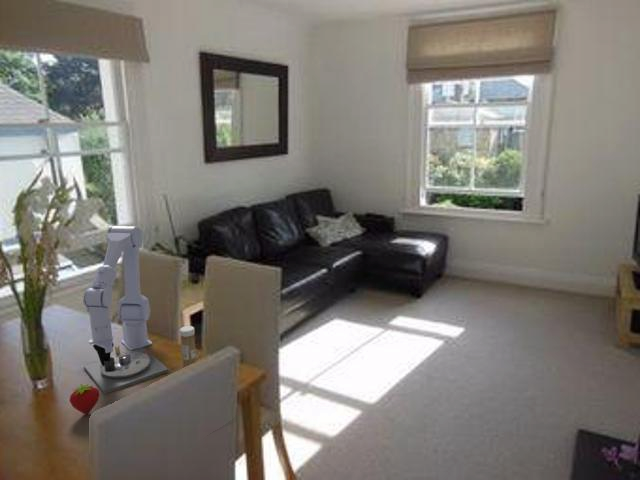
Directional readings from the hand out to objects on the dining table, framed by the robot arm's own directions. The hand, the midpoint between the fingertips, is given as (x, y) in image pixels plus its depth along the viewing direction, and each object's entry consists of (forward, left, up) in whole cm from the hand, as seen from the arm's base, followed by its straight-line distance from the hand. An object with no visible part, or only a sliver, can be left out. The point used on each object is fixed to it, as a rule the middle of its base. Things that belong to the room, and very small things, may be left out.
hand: (105, 364), depth 156 cm
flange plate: (0, +6, -3) cm, 7 cm away
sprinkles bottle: (+12, +23, -4) cm, 26 cm away
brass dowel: (-8, +6, -4) cm, 11 cm away
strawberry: (+18, -11, -4) cm, 21 cm away
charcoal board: (+1, +6, -4) cm, 7 cm away
